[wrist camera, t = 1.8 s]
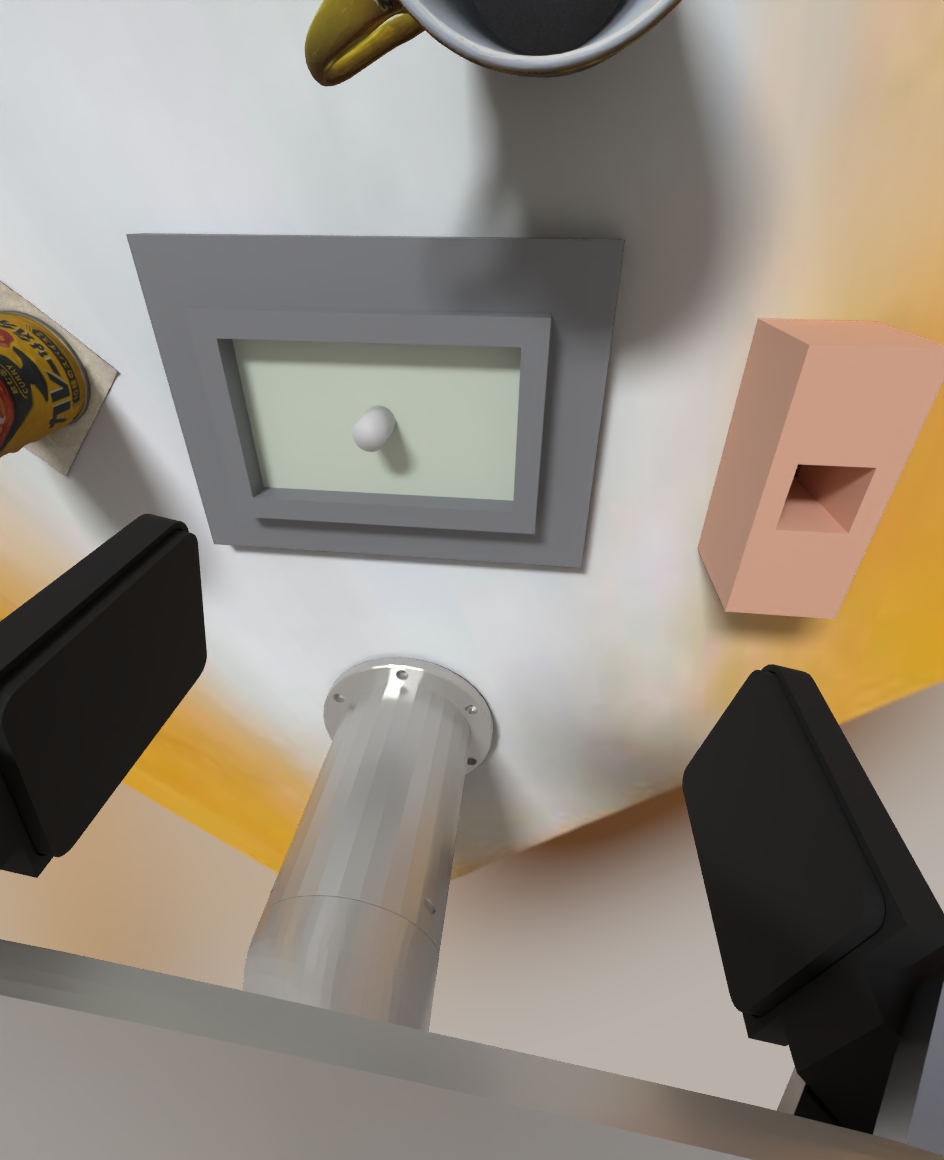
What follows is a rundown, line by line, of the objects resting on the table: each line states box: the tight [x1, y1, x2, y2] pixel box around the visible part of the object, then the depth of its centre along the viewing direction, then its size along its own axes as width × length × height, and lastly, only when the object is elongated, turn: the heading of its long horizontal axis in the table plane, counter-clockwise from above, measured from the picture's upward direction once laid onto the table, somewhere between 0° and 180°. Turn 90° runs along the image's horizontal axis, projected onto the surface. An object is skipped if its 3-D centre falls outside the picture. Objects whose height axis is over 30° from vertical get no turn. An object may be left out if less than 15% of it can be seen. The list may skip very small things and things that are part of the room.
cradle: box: [126, 233, 625, 568], centre depth 28 cm, size 16×22×4 cm
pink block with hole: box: [698, 319, 944, 619], centre depth 26 cm, size 12×5×6 cm, turn 0°
